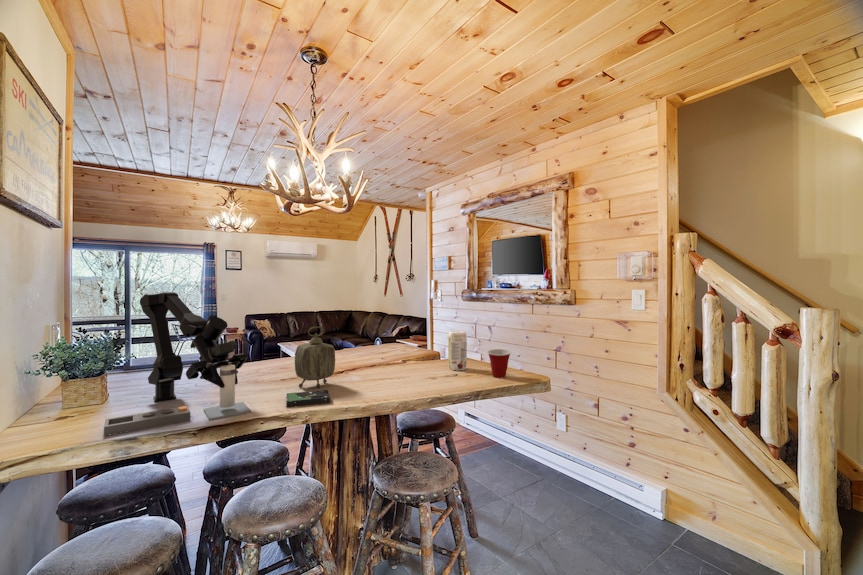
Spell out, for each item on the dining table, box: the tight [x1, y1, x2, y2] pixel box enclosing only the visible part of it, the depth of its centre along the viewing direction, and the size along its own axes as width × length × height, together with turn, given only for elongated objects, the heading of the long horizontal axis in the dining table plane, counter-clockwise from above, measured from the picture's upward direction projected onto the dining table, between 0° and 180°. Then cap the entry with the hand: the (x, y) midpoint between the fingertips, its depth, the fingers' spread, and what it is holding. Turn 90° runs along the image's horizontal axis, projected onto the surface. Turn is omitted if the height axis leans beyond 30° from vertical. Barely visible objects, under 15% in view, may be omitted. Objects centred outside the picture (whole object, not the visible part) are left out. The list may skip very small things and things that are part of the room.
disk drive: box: [285, 389, 331, 408], centre depth 134 cm, size 10×3×15 cm
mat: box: [203, 401, 253, 421], centre depth 123 cm, size 12×12×1 cm
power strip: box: [103, 405, 191, 436], centre depth 111 cm, size 8×20×3 cm, turn 129°
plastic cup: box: [487, 348, 512, 379], centre depth 173 cm, size 11×11×12 cm
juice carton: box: [447, 330, 468, 371], centre depth 189 cm, size 8×9×19 cm
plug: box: [219, 365, 239, 408], centre depth 122 cm, size 7×4×13 cm, turn 66°
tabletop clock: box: [294, 325, 336, 388], centre depth 154 cm, size 14×9×25 cm, turn 133°
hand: (230, 385), depth 122 cm, fingers closed on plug, 4 cm apart
